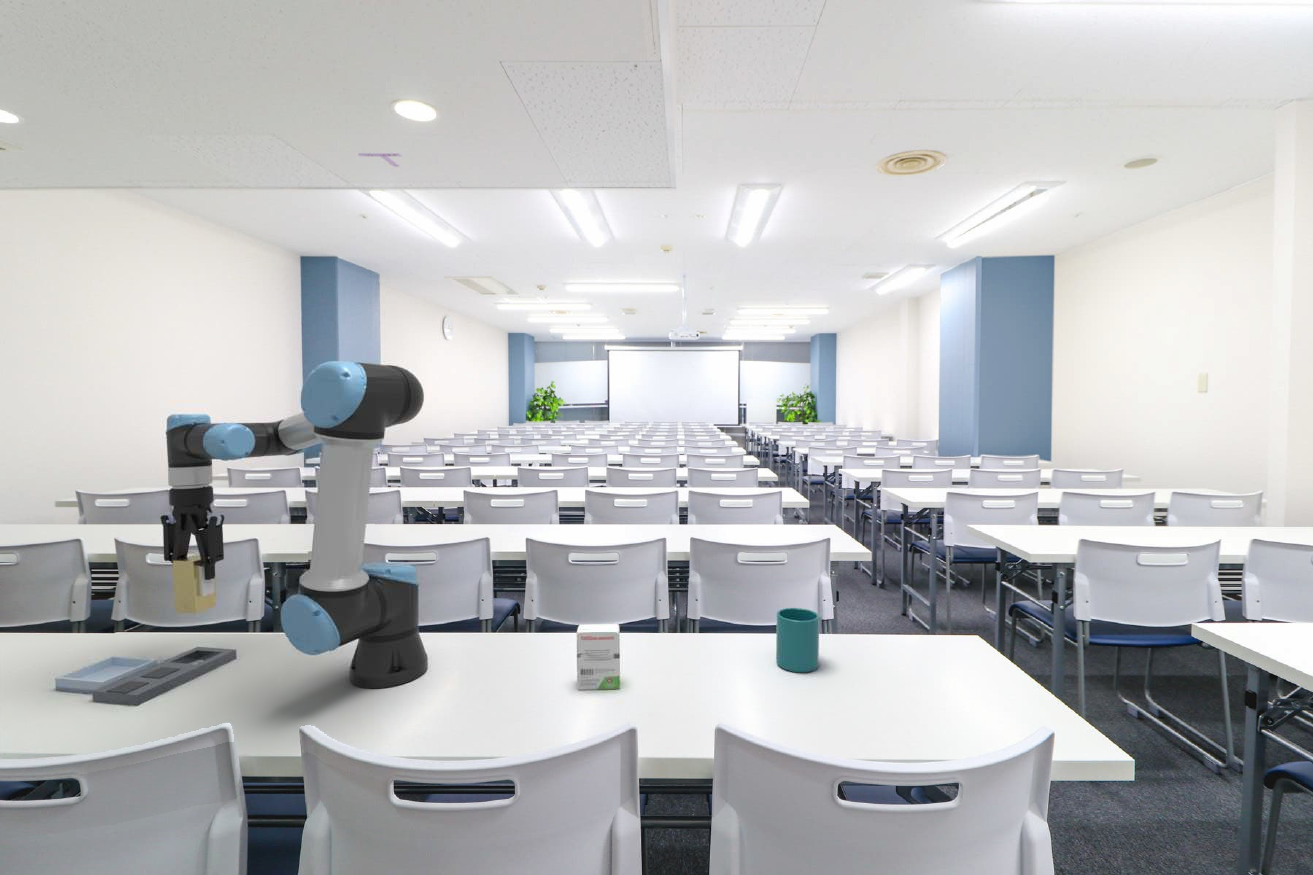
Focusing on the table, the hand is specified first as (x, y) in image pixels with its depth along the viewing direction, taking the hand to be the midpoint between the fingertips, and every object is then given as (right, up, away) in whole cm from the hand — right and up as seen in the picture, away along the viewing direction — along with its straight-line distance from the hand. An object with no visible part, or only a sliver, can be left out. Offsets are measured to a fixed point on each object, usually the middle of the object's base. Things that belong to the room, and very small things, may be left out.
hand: (195, 593), depth 130 cm
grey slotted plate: (-1, -16, -5) cm, 17 cm away
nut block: (0, -3, 0) cm, 3 cm away
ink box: (+88, -17, -8) cm, 89 cm away
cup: (+130, -16, +4) cm, 131 cm away
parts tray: (-13, -16, -6) cm, 22 cm away
